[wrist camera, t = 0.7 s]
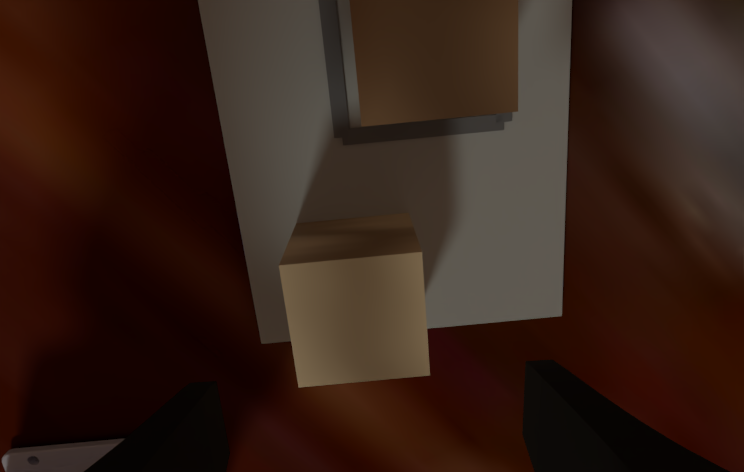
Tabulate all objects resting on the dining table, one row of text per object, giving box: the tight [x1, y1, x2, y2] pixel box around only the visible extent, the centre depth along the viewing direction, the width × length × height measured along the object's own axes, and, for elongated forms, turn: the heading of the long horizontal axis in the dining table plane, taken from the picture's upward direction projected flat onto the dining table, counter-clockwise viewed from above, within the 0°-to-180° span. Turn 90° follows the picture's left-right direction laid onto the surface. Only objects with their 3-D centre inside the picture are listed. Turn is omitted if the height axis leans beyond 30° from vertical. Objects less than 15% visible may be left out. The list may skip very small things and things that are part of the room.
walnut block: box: [349, 0, 518, 127], centre depth 16 cm, size 4×4×4 cm
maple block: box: [279, 213, 430, 387], centre depth 18 cm, size 4×4×4 cm
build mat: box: [198, 0, 572, 344], centre depth 19 cm, size 13×16×1 cm
